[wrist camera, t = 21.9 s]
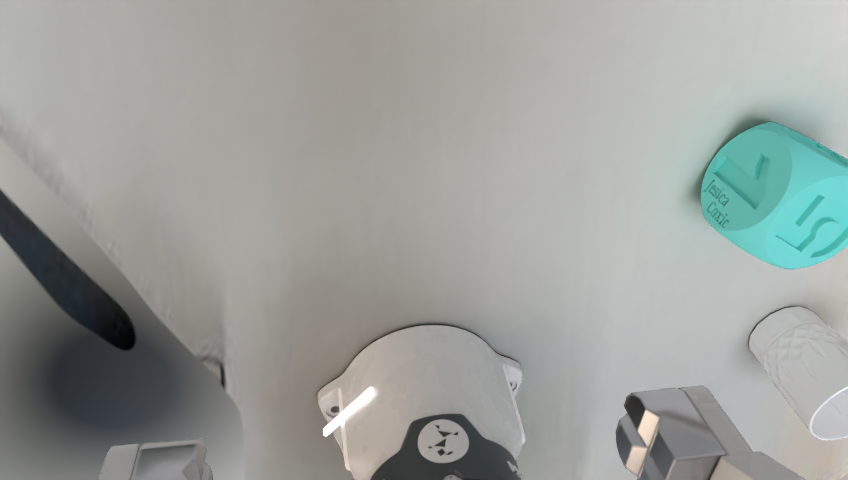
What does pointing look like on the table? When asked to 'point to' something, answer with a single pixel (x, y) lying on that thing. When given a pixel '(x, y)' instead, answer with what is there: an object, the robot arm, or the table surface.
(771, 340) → the white cup
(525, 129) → the table surface
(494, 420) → the robot arm
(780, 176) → the decorative dice
